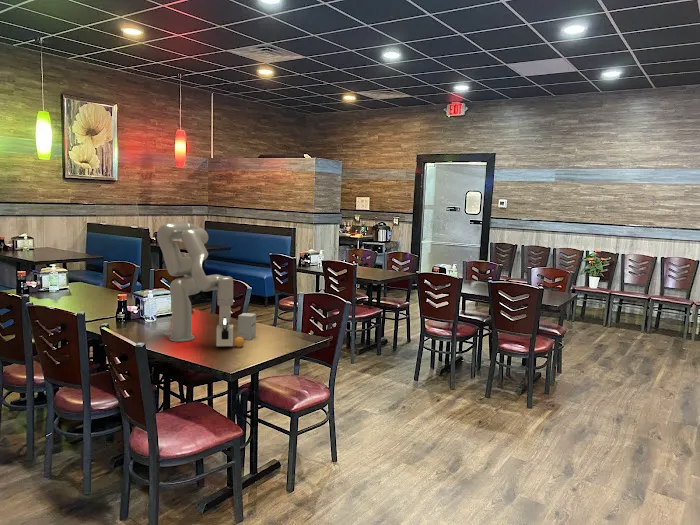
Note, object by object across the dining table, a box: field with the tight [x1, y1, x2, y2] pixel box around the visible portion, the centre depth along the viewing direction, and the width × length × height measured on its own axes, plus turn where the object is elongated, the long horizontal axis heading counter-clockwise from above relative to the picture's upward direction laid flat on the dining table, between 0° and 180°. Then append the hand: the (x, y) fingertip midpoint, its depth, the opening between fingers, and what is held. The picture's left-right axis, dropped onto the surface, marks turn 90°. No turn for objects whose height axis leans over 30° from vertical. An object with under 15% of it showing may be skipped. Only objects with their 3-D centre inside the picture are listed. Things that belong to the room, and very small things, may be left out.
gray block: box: [216, 324, 234, 347], centre depth 268 cm, size 8×8×9 cm
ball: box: [233, 336, 245, 348], centre depth 271 cm, size 5×5×5 cm
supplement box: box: [237, 312, 257, 341], centre depth 287 cm, size 7×7×13 cm
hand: (225, 336), depth 269 cm, fingers closed on gray block, 7 cm apart
